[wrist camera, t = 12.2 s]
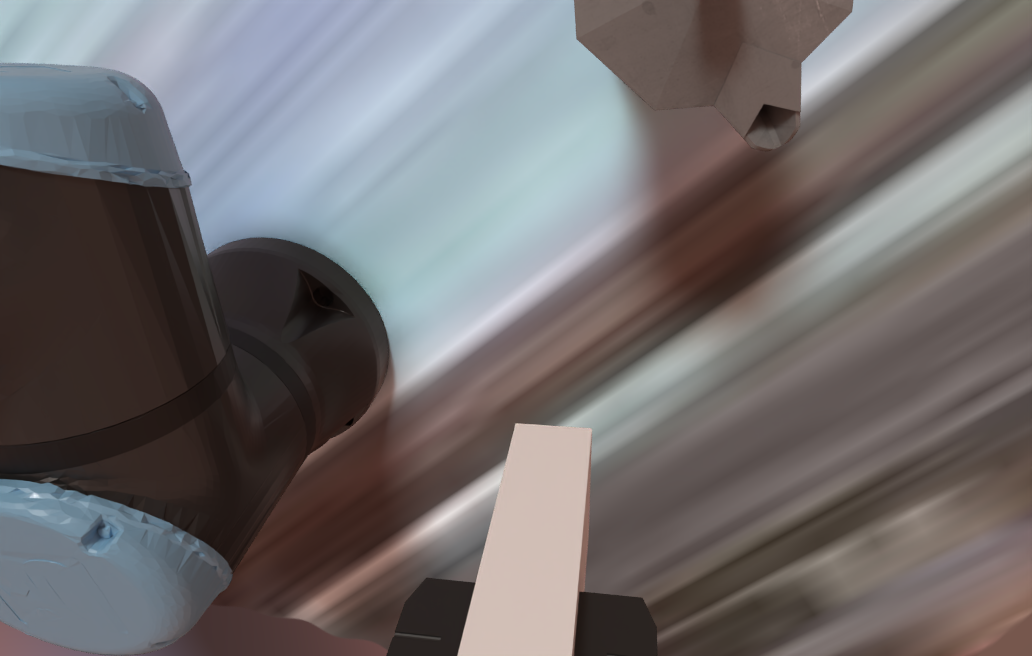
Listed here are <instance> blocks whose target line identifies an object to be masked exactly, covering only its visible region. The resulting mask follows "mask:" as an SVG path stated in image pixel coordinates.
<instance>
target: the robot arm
mask: <svg viewBox="0 0 1032 656" xmlns="http://www.w3.org/2000/svg"><path fill="white" fill-rule="evenodd" d="M191 185H192V184H191V179H190V176H189V173H187V172H186V171H185V170H183V167H182V164H181V161H180V159H179V156H178V153H177V150H176V147H175V144H174V141H173V138H172V136H171V133H170V130H169V127H168V124H167V121H166V118H165V115H164V112H163V109H162V107H161V105H160V103H159V101H158V100H157V98H156V97H155V95H154V94H153V93H152V92H151V91H150V90H149V89H148V88H147V87H146V86H145V85H144V84H143V83H141V82H140V81H139V80H137V79H135V78H134V77H132V76H130V75H127V74H125V73H122V72H119V71H116V70H111V69H106V68H98V67H87V66H72V65H55V64H29V63H0V621H1V622H3V623H5V624H7V625H9V626H11V627H13V628H15V629H18V630H20V631H22V632H24V633H26V634H28V635H30V636H32V637H35V638H37V639H40V640H43V641H45V642H48V643H51V644H54V645H57V646H61V647H65V648H69V649H72V650H76V651H81V652H86V653H92V654H100V655H113V656H127V655H138V654H145V653H149V652H153V651H156V650H159V649H161V648H164V647H166V646H169V645H171V644H173V643H174V642H176V641H177V640H178V639H179V638H180V637H182V636H184V635H185V634H186V633H187V632H189V631H190V630H191V629H192V628H193V627H194V626H195V624H196V623H197V621H198V620H199V619H200V618H201V616H202V615H203V613H204V612H205V611H206V609H207V608H208V607H209V606H210V605H211V603H212V602H213V601H214V599H215V598H216V597H217V596H218V594H219V593H221V592H223V591H224V590H225V589H226V588H227V587H228V585H229V584H230V582H231V580H232V576H233V575H232V574H233V572H234V571H235V569H236V568H237V566H238V564H239V563H240V561H241V560H242V558H243V556H244V555H245V553H246V552H247V550H248V548H249V547H250V545H251V544H252V542H253V541H254V539H255V537H256V536H257V534H258V533H259V531H260V529H261V528H262V526H263V525H264V523H265V521H266V520H267V518H268V517H269V515H270V513H271V512H272V510H273V509H274V507H275V506H276V504H277V503H278V501H279V499H280V498H281V496H282V495H283V493H284V492H285V490H286V489H287V487H288V485H289V484H290V482H291V481H292V479H293V478H294V476H295V475H296V473H297V471H298V470H299V468H300V467H301V465H302V464H303V462H304V461H305V459H306V458H307V456H308V455H309V454H310V453H312V452H314V451H315V450H317V449H318V448H320V447H321V446H322V445H324V444H325V443H326V442H327V441H328V440H329V439H330V438H333V437H335V436H337V435H339V434H341V433H342V432H344V431H346V430H347V429H349V428H350V427H351V426H353V425H354V424H355V423H356V422H357V421H358V420H359V419H360V418H361V417H362V416H363V415H364V414H365V412H366V411H367V410H368V408H369V407H370V405H371V403H372V402H373V400H374V398H375V397H376V395H377V393H378V392H379V390H380V388H381V386H382V384H383V381H384V379H385V376H386V372H387V367H388V342H387V336H386V332H385V329H384V326H383V323H382V320H381V318H380V315H379V313H378V311H377V309H376V307H375V306H374V304H373V302H372V301H371V299H370V298H369V296H368V295H367V293H366V292H365V291H364V289H363V288H362V287H361V286H360V285H359V284H358V282H357V281H356V280H355V279H354V278H353V277H352V276H351V275H350V274H349V273H347V272H346V271H345V270H344V269H343V268H341V267H340V266H339V265H338V264H336V263H335V262H333V261H332V260H330V259H329V258H327V257H326V256H324V255H322V254H320V253H318V252H316V251H314V250H312V249H310V248H308V247H305V246H303V245H300V244H297V243H294V242H290V241H286V240H281V239H274V238H248V239H242V240H237V241H234V242H231V243H228V244H225V245H223V246H221V247H219V248H217V249H216V250H214V251H213V252H211V253H210V254H208V255H207V254H206V250H205V247H204V243H203V240H202V236H201V232H200V228H199V224H198V221H197V217H196V213H195V209H194V205H193V201H192V197H191V194H190V190H189V186H191ZM591 444H592V429H591V428H576V427H561V426H547V425H532V424H517V423H516V425H515V429H514V433H513V437H512V440H511V444H510V448H509V452H508V456H507V460H506V464H505V468H504V472H503V476H502V480H501V484H500V488H499V492H498V496H497V500H496V504H495V508H494V512H493V516H492V520H491V524H490V528H489V532H488V536H487V540H486V544H485V548H484V552H483V556H482V560H481V564H480V568H479V572H478V576H477V580H476V583H472V582H462V581H452V580H443V579H433V578H426V579H425V580H424V581H423V582H422V583H421V585H420V586H419V587H418V588H417V589H416V590H415V592H414V593H413V594H412V595H411V596H410V597H409V598H408V600H407V601H406V602H405V604H404V607H403V610H402V613H401V616H400V619H399V621H398V624H397V627H396V630H395V636H394V637H393V638H392V641H391V644H390V647H389V650H388V653H387V656H657V627H656V625H655V623H654V621H653V619H652V617H651V615H650V613H649V610H648V608H647V606H646V604H645V602H644V600H643V598H639V597H629V596H619V595H609V594H599V593H589V592H584V586H585V573H586V561H587V548H588V535H589V507H590V475H591Z"/></svg>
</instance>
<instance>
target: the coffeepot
mask: <svg viewBox="0 0 1032 656" xmlns="http://www.w3.org/2000/svg"><path fill="white" fill-rule="evenodd" d="M574 5H575V21H576V38H577V40H578V41H579V42H581V43H582V44H583V45H584V46H585V47H586V48H587V49H588V50H589V51H590V52H591V53H593V54H594V55H595V56H596V57H597V58H598V59H599V60H600V61H601V62H602V63H603V64H605V65H606V66H607V67H608V68H609V69H610V70H611V71H612V72H613V73H614V74H615V75H617V76H618V77H619V78H620V79H621V80H622V81H623V82H624V83H625V84H626V85H628V86H629V87H630V88H631V89H632V90H633V91H634V92H635V93H636V94H637V95H638V96H640V97H641V98H642V99H643V100H644V101H645V102H646V103H647V104H648V105H649V106H650V107H652V108H653V109H654V110H664V109H676V108H689V107H702V106H715V107H716V108H717V110H718V111H719V112H720V113H721V114H722V115H723V116H724V117H725V118H726V119H727V121H728V122H729V123H730V124H731V125H732V126H733V127H734V128H735V129H736V131H737V132H738V133H739V134H740V135H741V136H742V137H743V139H744V140H745V141H746V142H747V143H748V144H749V145H750V147H751V148H753V149H757V150H761V151H770V150H772V149H775V148H778V147H780V146H782V145H783V144H785V143H787V142H789V141H790V140H791V139H792V138H793V136H794V135H795V134H796V132H797V131H798V129H799V127H800V112H801V63H802V62H803V61H804V60H805V59H806V58H807V57H808V56H809V55H810V54H811V53H812V52H813V51H814V50H815V49H816V48H817V47H818V46H819V45H820V44H821V43H822V42H823V41H824V40H825V38H826V37H827V36H828V35H829V34H830V33H831V32H832V31H833V30H834V29H835V28H836V27H837V26H838V25H839V24H840V23H841V22H842V21H843V20H844V19H845V18H846V17H847V16H848V15H849V14H850V13H851V12H852V7H853V0H574Z"/></svg>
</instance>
